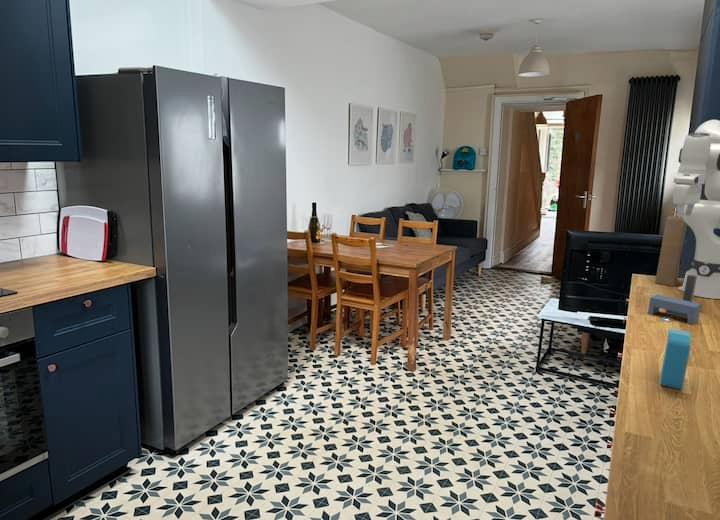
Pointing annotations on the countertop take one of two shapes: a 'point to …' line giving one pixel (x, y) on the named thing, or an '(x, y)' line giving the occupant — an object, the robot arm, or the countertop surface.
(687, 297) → the scraper
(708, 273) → the robot arm
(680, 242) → the decorative block
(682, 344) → the data package
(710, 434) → the countertop surface
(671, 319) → the steel token
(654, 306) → the blue-grey bridge block
